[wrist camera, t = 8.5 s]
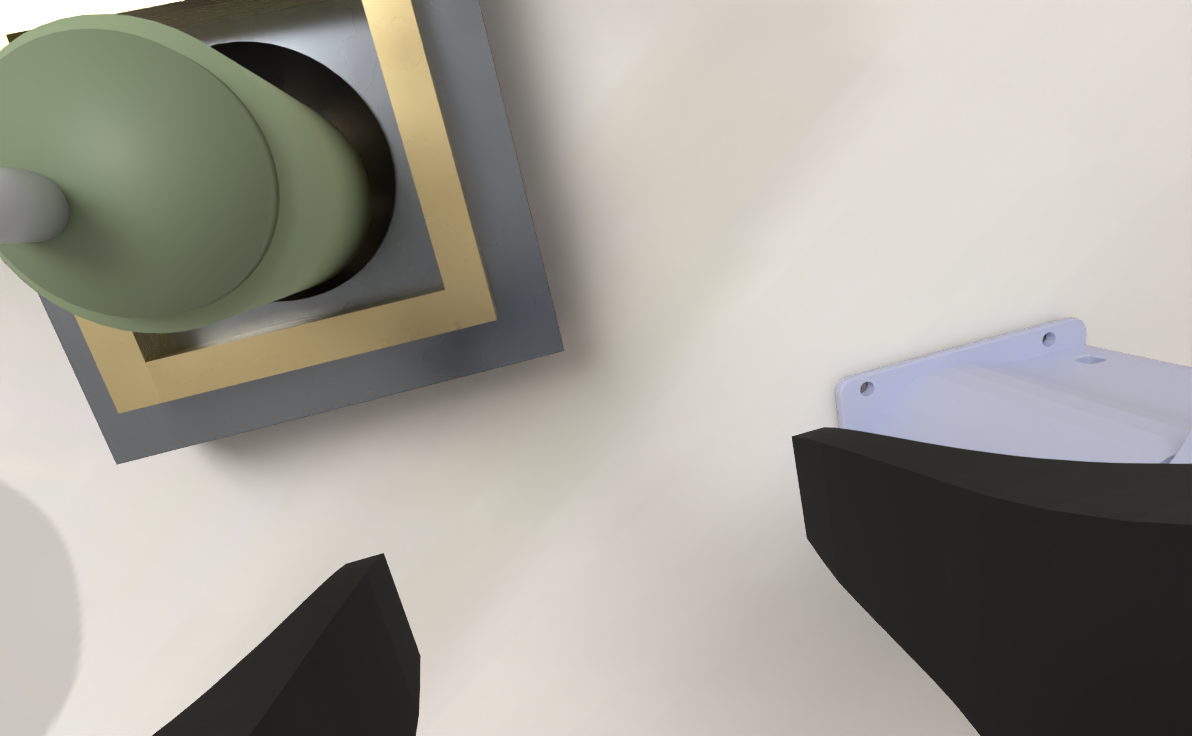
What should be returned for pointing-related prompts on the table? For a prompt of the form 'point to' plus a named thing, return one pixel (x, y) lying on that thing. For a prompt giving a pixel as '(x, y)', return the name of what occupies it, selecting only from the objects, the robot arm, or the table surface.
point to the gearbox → (391, 248)
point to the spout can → (165, 178)
